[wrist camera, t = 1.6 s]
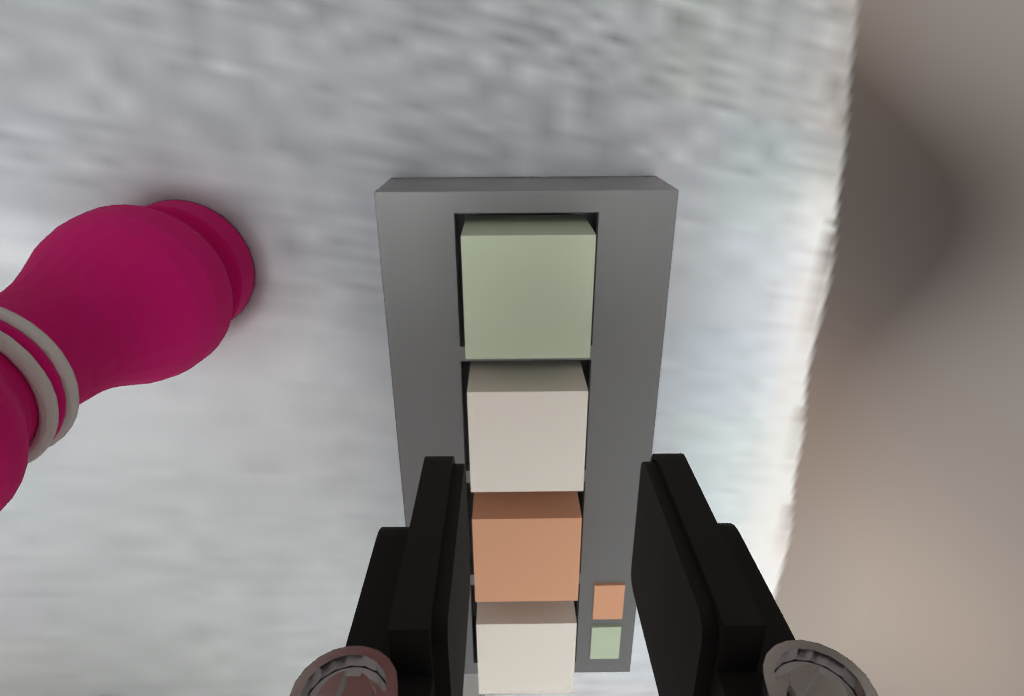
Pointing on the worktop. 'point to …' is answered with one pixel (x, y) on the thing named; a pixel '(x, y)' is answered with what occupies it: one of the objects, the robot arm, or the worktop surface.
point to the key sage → (527, 286)
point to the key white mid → (527, 425)
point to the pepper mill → (111, 315)
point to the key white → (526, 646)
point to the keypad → (608, 372)
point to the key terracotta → (526, 546)
